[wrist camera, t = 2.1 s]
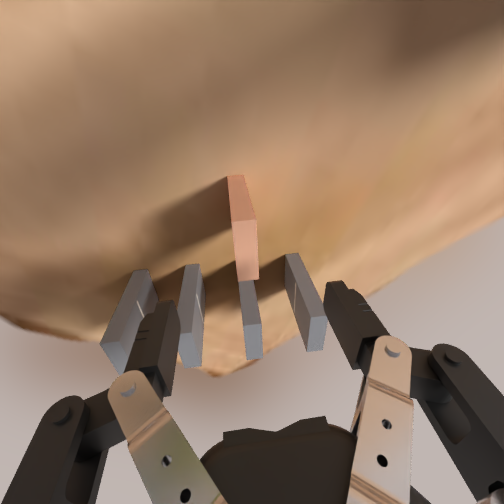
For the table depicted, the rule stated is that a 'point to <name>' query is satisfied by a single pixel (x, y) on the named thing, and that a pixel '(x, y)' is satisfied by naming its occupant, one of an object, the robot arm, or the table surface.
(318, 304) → the domino
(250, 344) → the domino
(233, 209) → the domino
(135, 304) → the domino
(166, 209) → the table surface
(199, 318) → the domino
